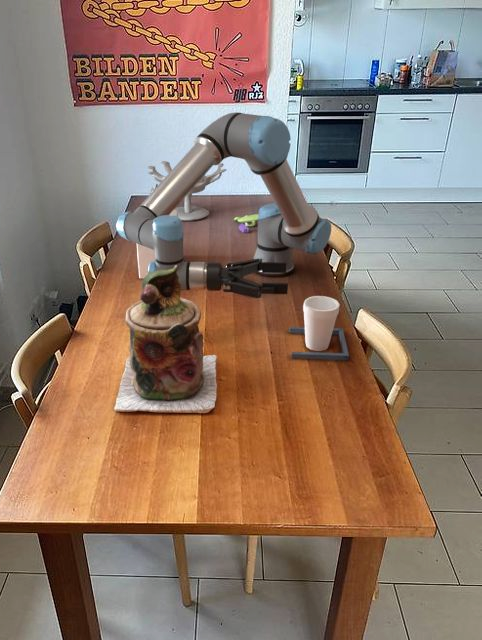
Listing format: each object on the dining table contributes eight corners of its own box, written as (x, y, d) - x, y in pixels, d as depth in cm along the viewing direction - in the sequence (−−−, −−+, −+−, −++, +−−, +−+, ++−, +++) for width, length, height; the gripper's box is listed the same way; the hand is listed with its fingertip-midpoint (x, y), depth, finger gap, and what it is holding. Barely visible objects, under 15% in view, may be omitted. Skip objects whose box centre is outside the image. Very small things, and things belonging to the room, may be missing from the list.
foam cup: (297, 338, 166) (300, 296, 159) (328, 336, 167) (333, 295, 160) (304, 354, 159) (308, 312, 151) (338, 353, 159) (343, 310, 152)
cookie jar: (127, 360, 158) (115, 248, 140) (217, 361, 157) (217, 247, 139) (112, 415, 137) (97, 291, 119) (216, 416, 136) (216, 290, 119)
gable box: (145, 255, 222) (139, 181, 207) (179, 255, 222) (176, 180, 207) (139, 279, 204) (132, 199, 188) (176, 278, 203) (173, 198, 188)
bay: (291, 358, 157) (291, 353, 156) (289, 331, 170) (289, 326, 169) (348, 360, 156) (349, 355, 155) (342, 332, 169) (342, 328, 168)
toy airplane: (293, 236, 237) (294, 223, 234) (228, 233, 242) (229, 220, 239) (296, 222, 252) (297, 209, 249) (236, 219, 257) (236, 206, 254)
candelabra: (157, 203, 279) (154, 143, 264) (230, 205, 275) (230, 144, 260) (142, 226, 251) (137, 161, 236) (222, 229, 246) (222, 162, 232)
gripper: (210, 271, 167) (284, 272, 165) (202, 310, 146) (287, 312, 144) (210, 246, 163) (286, 247, 161) (202, 282, 142) (289, 284, 140)
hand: (287, 277), depth 153 cm, fingers open, 13 cm apart
